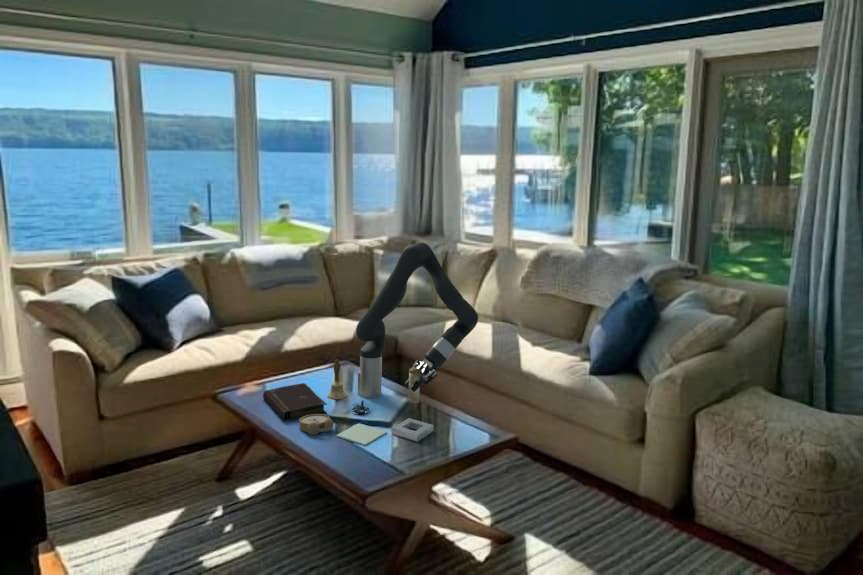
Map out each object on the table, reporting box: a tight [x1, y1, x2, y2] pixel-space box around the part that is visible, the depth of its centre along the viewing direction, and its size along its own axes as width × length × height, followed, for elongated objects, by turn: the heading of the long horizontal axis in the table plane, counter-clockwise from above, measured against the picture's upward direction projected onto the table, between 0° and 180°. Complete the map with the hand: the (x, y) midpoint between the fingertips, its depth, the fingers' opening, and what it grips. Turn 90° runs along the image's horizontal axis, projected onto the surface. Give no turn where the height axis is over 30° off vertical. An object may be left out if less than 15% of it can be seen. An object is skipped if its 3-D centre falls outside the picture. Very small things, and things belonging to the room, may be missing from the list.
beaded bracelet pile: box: [351, 400, 370, 413], centre depth 255 cm, size 8×7×8 cm
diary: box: [262, 382, 328, 423], centre depth 258 cm, size 19×25×5 cm
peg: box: [407, 367, 421, 404], centre depth 235 cm, size 4×4×12 cm
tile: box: [336, 423, 388, 447], centre depth 235 cm, size 13×13×1 cm
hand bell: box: [326, 359, 348, 400], centre depth 270 cm, size 8×8×16 cm
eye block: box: [391, 417, 434, 442], centre depth 238 cm, size 11×11×2 cm
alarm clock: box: [299, 414, 335, 436], centre depth 238 cm, size 11×5×15 cm
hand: (409, 387), depth 234 cm, fingers closed on peg, 4 cm apart
